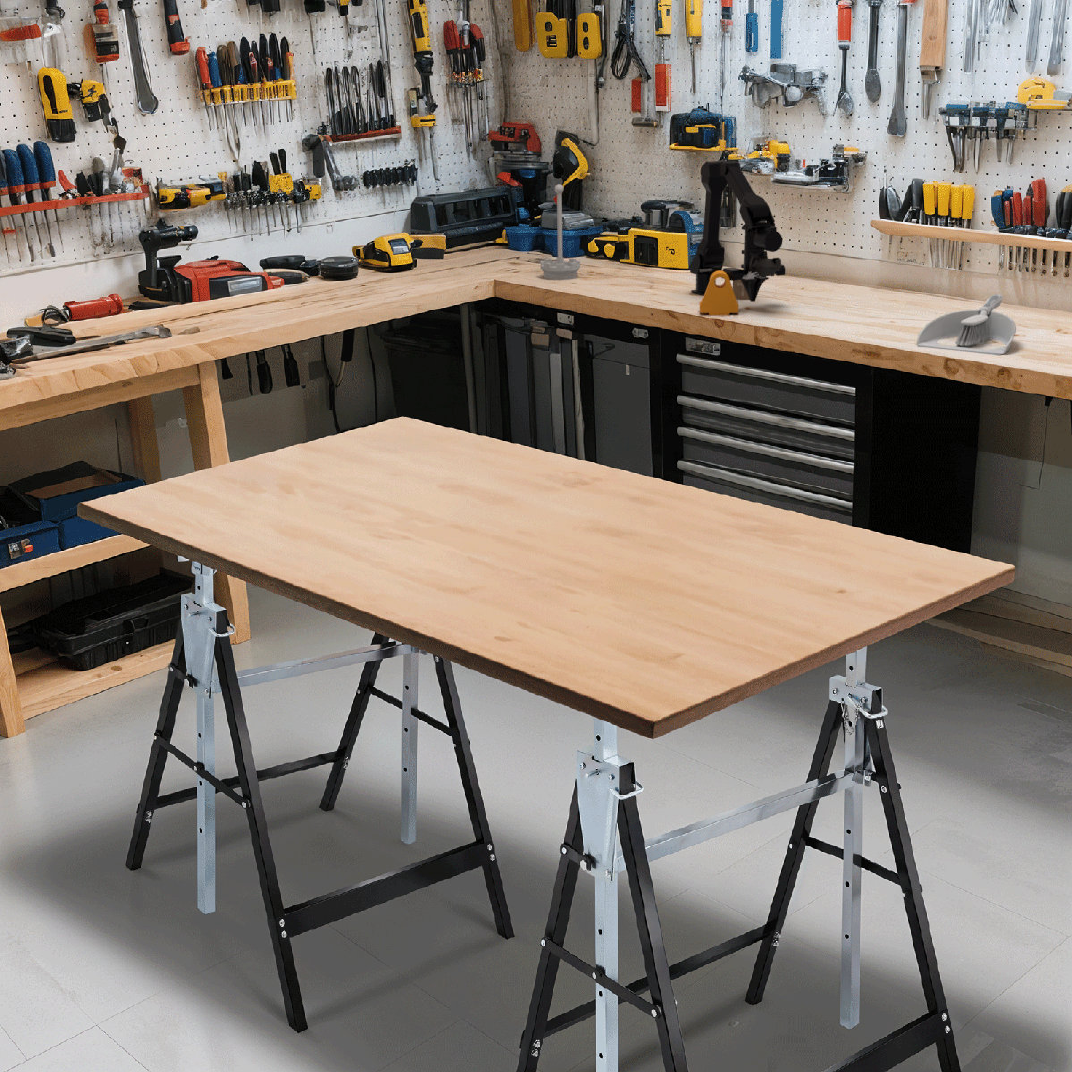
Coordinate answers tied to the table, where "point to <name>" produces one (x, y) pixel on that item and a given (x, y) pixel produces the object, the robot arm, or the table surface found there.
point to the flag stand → (560, 250)
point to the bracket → (719, 297)
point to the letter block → (740, 290)
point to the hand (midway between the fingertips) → (752, 301)
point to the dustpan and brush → (971, 329)
